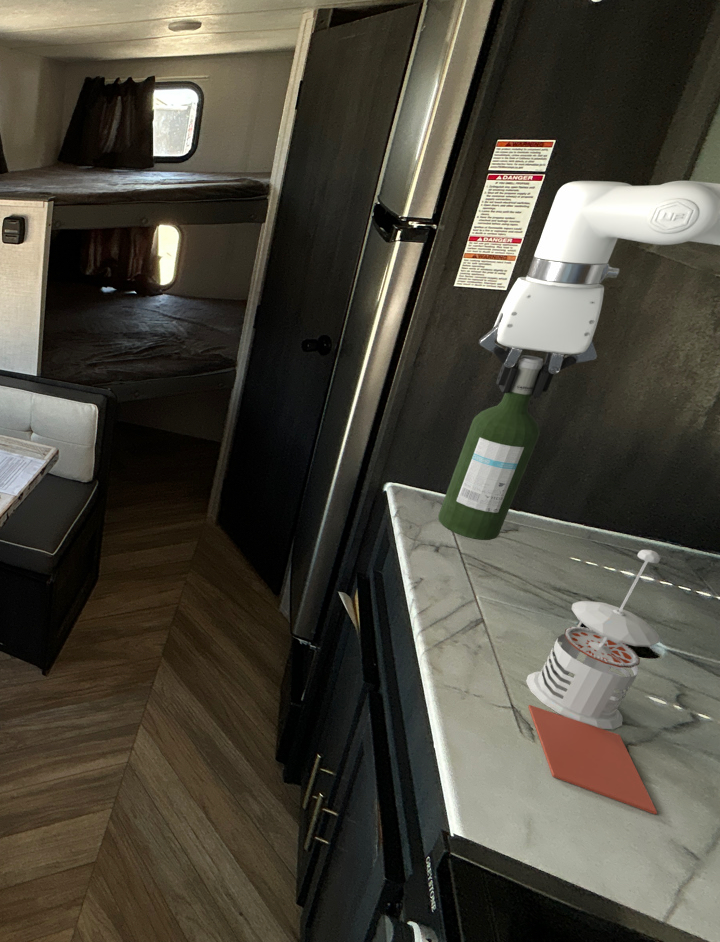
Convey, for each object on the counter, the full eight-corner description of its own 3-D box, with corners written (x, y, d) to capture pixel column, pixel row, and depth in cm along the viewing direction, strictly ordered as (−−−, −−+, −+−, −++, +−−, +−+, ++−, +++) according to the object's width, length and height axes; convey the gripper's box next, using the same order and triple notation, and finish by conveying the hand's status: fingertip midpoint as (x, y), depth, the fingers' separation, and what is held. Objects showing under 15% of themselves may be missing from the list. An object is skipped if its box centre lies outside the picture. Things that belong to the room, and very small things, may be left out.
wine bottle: (489, 521, 107) (555, 354, 96) (505, 546, 100) (578, 369, 89) (432, 510, 110) (490, 347, 99) (443, 533, 103) (507, 362, 92)
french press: (529, 704, 87) (604, 555, 78) (521, 653, 96) (587, 514, 86) (631, 743, 81) (724, 587, 72) (612, 685, 90) (693, 540, 81)
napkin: (618, 736, 82) (619, 734, 82) (656, 814, 73) (657, 812, 73) (528, 706, 87) (529, 704, 87) (552, 776, 77) (553, 774, 77)
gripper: (635, 274, 88) (584, 395, 95) (485, 263, 96) (448, 375, 103) (656, 284, 82) (600, 412, 89) (495, 271, 90) (454, 389, 97)
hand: (519, 391), depth 96 cm, fingers closed on wine bottle, 2 cm apart
